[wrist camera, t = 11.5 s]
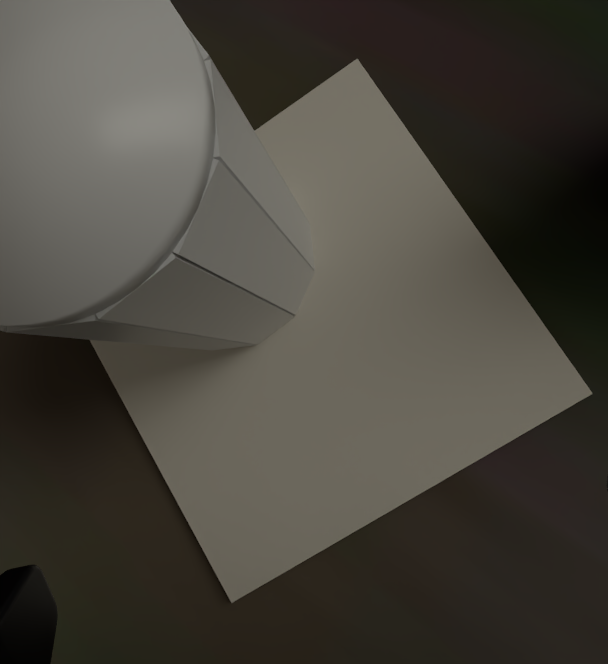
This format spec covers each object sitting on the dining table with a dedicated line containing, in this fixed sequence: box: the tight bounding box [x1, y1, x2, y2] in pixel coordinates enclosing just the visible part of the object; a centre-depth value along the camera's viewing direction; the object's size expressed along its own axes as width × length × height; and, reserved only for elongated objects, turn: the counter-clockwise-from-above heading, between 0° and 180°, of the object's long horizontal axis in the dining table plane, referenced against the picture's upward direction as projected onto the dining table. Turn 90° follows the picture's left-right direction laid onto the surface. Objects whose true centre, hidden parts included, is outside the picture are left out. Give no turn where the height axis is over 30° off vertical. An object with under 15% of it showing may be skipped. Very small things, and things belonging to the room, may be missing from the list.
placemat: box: [90, 59, 592, 603], centre depth 21 cm, size 16×16×1 cm
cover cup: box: [0, 0, 315, 350], centre depth 15 cm, size 7×7×12 cm
